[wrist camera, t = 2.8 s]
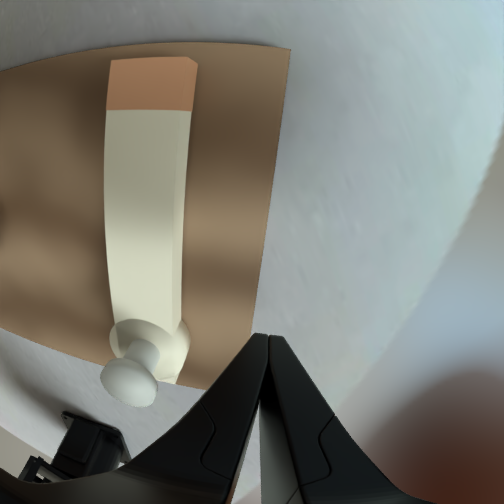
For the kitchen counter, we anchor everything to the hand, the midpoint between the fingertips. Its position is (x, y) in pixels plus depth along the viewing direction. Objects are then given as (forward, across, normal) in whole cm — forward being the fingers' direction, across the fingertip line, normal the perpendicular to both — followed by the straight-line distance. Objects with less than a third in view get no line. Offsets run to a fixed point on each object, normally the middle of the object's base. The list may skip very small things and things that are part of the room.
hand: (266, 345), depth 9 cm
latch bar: (+5, +5, -1) cm, 8 cm away
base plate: (+6, +11, 0) cm, 13 cm away
